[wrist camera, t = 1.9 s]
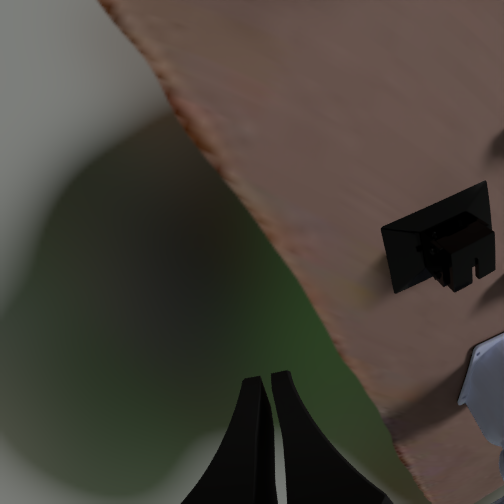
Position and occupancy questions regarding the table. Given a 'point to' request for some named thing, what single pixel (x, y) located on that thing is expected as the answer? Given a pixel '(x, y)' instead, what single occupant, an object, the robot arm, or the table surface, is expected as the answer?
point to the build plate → (443, 242)
